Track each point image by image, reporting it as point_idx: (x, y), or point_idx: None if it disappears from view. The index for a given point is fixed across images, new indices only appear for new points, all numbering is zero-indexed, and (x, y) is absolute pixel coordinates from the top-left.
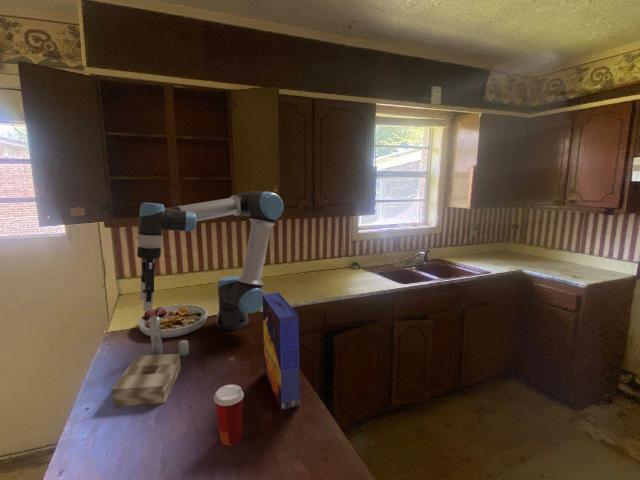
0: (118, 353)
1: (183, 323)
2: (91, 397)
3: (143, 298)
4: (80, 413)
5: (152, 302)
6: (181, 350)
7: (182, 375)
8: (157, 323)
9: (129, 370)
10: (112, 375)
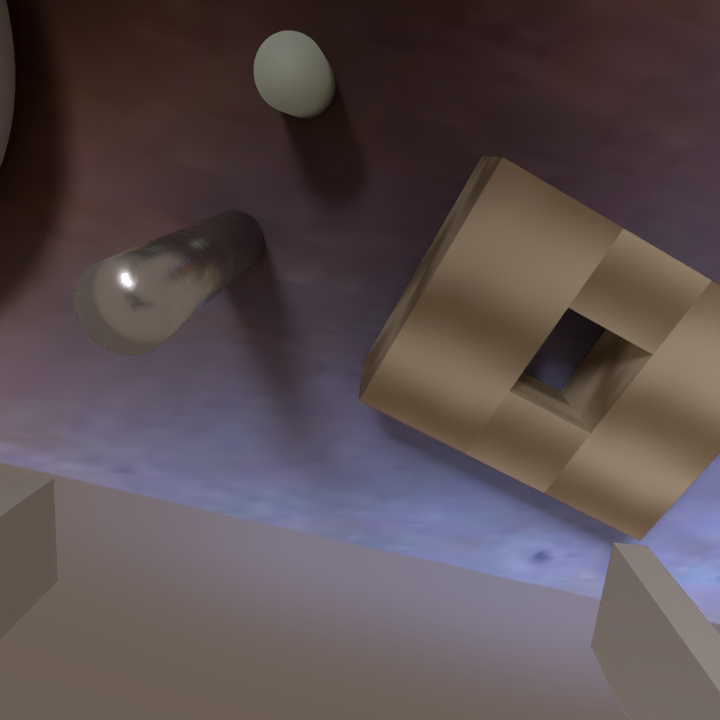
0: (101, 414)
1: None
2: (466, 541)
3: (42, 556)
4: (555, 576)
5: (717, 637)
6: (324, 103)
7: (568, 169)
8: (185, 278)
9: (512, 455)
10: (330, 462)
